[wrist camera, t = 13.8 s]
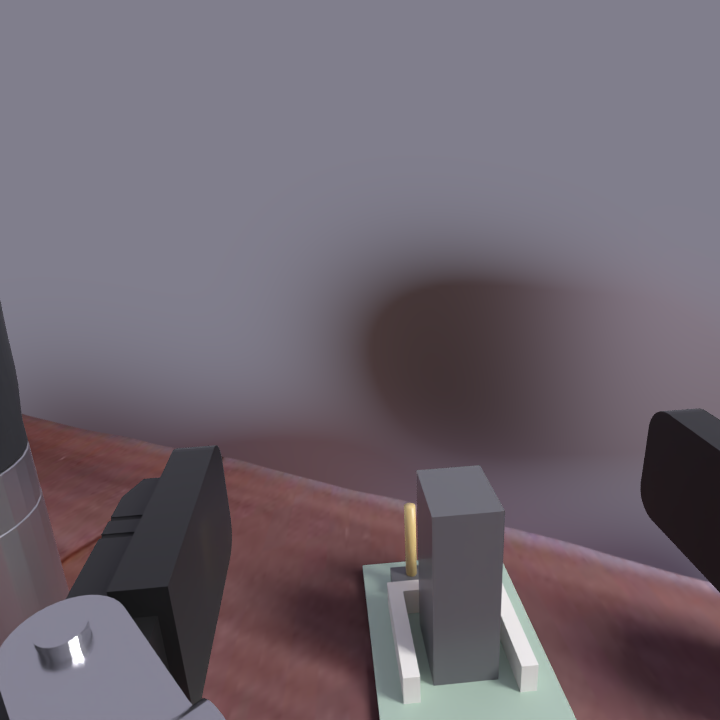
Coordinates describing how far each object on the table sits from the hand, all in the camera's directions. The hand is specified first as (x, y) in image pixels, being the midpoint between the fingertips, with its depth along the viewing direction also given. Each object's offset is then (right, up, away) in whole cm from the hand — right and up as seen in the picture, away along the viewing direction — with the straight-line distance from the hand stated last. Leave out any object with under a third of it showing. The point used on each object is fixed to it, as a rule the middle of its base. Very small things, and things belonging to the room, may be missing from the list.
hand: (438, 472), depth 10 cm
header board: (+5, -17, +28) cm, 33 cm away
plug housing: (+5, -17, +26) cm, 32 cm away
